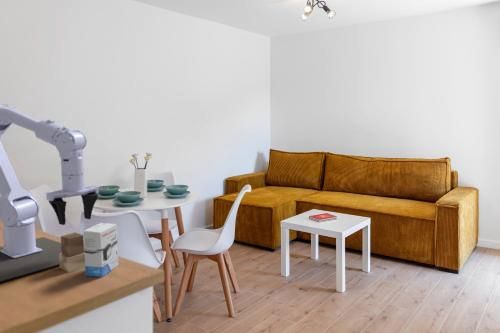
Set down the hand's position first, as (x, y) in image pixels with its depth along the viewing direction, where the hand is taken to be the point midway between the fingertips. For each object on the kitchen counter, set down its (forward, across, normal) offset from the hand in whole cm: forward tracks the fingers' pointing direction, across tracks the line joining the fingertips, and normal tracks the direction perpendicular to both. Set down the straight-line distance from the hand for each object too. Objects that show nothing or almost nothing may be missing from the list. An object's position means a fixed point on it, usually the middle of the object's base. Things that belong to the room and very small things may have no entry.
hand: (75, 221), depth 114 cm
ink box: (+11, -2, -15) cm, 18 cm away
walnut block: (+7, -5, -7) cm, 11 cm away
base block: (+11, -5, -7) cm, 14 cm away
